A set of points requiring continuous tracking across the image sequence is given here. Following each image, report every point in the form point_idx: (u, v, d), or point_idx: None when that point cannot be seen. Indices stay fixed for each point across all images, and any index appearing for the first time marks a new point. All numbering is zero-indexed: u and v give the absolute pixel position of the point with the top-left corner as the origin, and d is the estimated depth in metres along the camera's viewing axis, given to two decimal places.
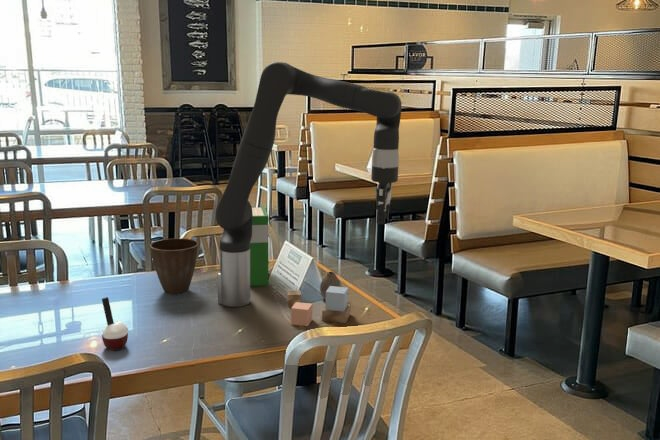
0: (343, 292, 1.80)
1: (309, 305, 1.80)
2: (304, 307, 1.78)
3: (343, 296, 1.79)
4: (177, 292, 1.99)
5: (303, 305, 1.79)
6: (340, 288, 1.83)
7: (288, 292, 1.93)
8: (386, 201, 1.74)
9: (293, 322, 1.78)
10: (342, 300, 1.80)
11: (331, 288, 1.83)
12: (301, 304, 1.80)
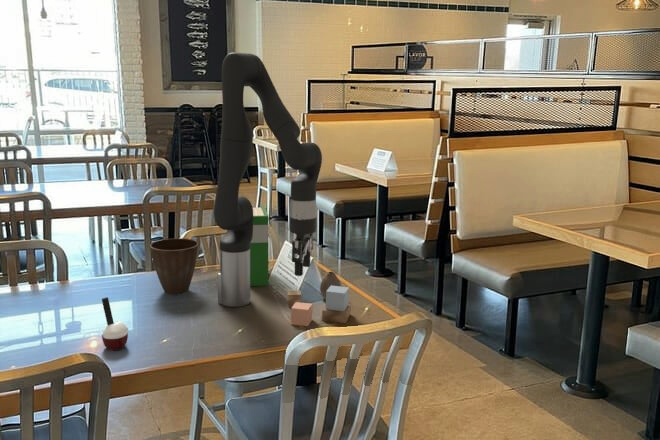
0: (343, 292, 1.80)
1: (309, 305, 1.80)
2: (304, 307, 1.78)
3: (343, 296, 1.79)
4: (177, 292, 1.99)
5: (303, 305, 1.79)
6: (340, 288, 1.83)
7: (288, 292, 1.93)
8: (303, 252, 1.71)
9: (293, 322, 1.78)
10: (342, 300, 1.80)
11: (332, 287, 1.84)
12: (301, 304, 1.80)
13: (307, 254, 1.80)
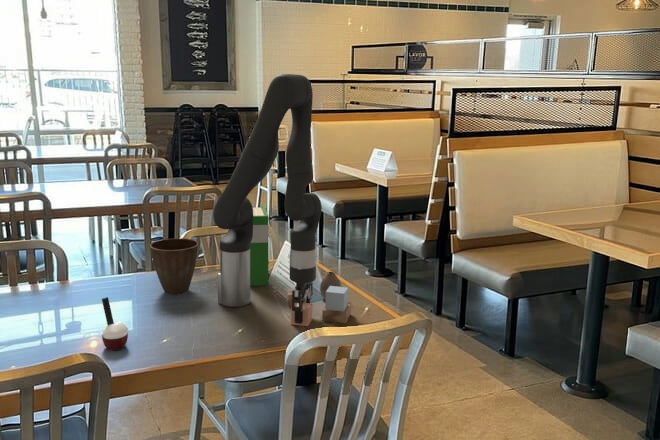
0: (343, 292, 1.80)
1: (309, 305, 1.80)
2: (305, 307, 1.78)
3: (343, 296, 1.79)
4: (177, 292, 1.99)
5: None
6: (340, 288, 1.83)
7: (288, 292, 1.93)
8: (303, 301, 1.74)
9: (293, 322, 1.78)
10: (342, 300, 1.80)
11: (331, 288, 1.83)
12: None
13: (307, 300, 1.83)
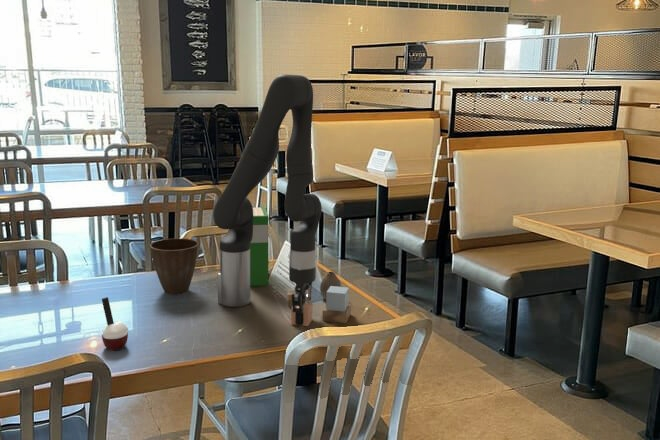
0: (344, 292, 1.80)
1: (309, 305, 1.80)
2: (305, 307, 1.78)
3: (344, 296, 1.79)
4: (177, 292, 1.99)
5: None
6: (340, 288, 1.83)
7: (288, 292, 1.93)
8: (303, 303, 1.75)
9: (293, 322, 1.78)
10: (343, 300, 1.80)
11: (331, 288, 1.83)
12: None
13: None
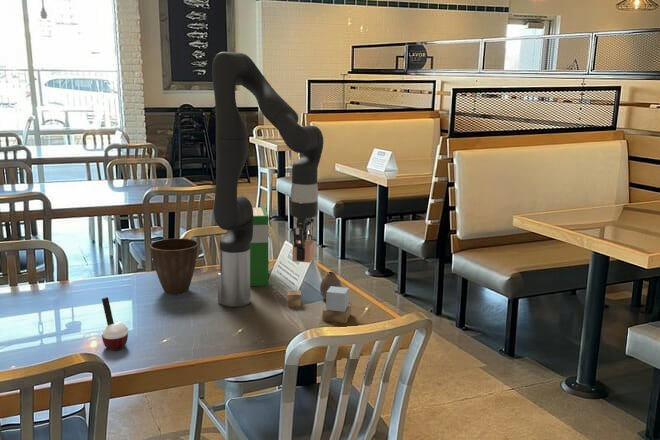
0: (344, 292, 1.80)
1: (311, 242, 1.75)
2: (306, 243, 1.73)
3: (344, 296, 1.79)
4: (177, 292, 1.99)
5: None
6: (340, 288, 1.83)
7: (288, 292, 1.93)
8: (305, 238, 1.71)
9: (294, 258, 1.74)
10: (343, 300, 1.79)
11: (332, 288, 1.83)
12: None
13: None
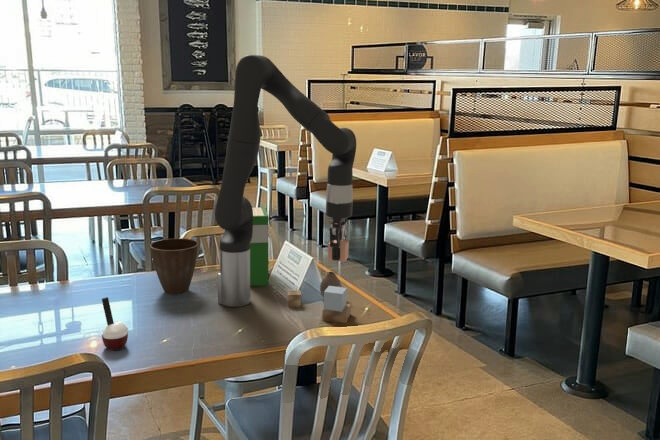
0: (341, 292, 1.80)
1: (346, 241, 1.79)
2: (341, 243, 1.77)
3: (341, 296, 1.79)
4: (177, 292, 1.99)
5: None
6: (338, 288, 1.83)
7: (288, 292, 1.93)
8: (340, 238, 1.75)
9: (330, 258, 1.78)
10: (340, 300, 1.79)
11: (330, 288, 1.83)
12: None
13: None
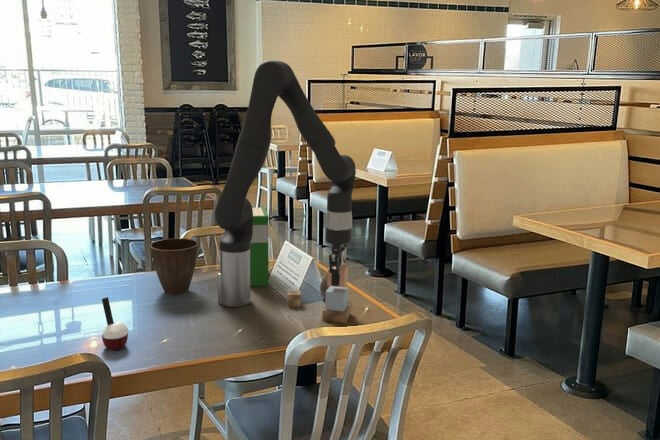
0: (343, 292, 1.80)
1: (345, 267, 1.81)
2: (341, 269, 1.79)
3: (343, 296, 1.79)
4: (177, 292, 1.99)
5: None
6: (340, 288, 1.83)
7: (288, 292, 1.93)
8: (340, 264, 1.77)
9: (329, 283, 1.80)
10: (342, 300, 1.80)
11: (331, 287, 1.84)
12: None
13: None
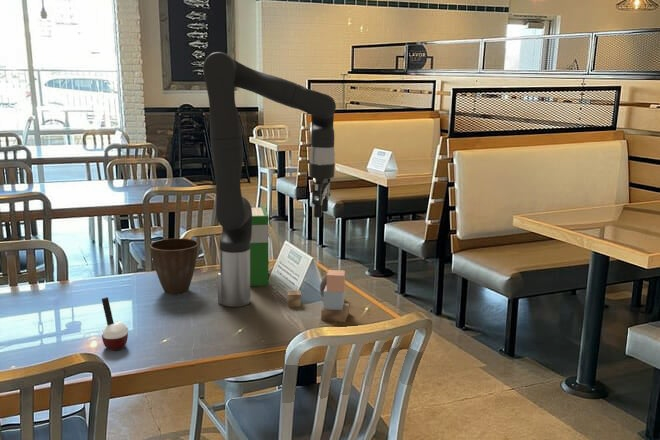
0: None
1: (343, 272, 1.83)
2: (340, 274, 1.80)
3: (341, 295, 1.80)
4: (177, 292, 1.99)
5: (337, 272, 1.82)
6: None
7: (288, 292, 1.93)
8: (322, 196, 1.85)
9: (329, 289, 1.80)
10: (340, 299, 1.81)
11: None
12: (334, 271, 1.83)
13: (325, 200, 1.94)
